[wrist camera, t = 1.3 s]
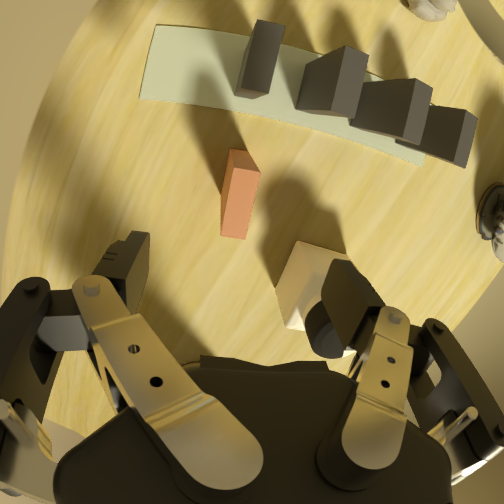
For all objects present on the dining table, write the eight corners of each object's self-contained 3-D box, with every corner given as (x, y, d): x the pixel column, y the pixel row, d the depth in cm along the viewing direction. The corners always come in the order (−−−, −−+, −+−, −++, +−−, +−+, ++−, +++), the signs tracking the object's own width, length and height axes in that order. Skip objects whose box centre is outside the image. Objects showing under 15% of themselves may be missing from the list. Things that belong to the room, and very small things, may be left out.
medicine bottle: (273, 289, 36) (293, 363, 25) (296, 238, 33) (329, 304, 22) (323, 300, 37) (355, 369, 27) (348, 254, 34) (393, 316, 24)
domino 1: (263, 53, 23) (285, 25, 14) (252, 99, 25) (268, 93, 16) (245, 49, 23) (257, 19, 14) (234, 96, 25) (240, 87, 16)
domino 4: (374, 88, 25) (432, 88, 16) (364, 130, 27) (419, 145, 18) (359, 82, 25) (416, 78, 16) (349, 125, 27) (402, 137, 18)
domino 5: (416, 108, 26) (477, 118, 17) (406, 147, 28) (465, 168, 19) (404, 102, 26) (465, 109, 17) (394, 142, 28) (453, 162, 19)
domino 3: (322, 69, 24) (369, 54, 15) (312, 114, 26) (354, 118, 17) (305, 63, 24) (345, 45, 15) (295, 109, 26) (330, 110, 17)
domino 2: (248, 151, 28) (260, 172, 19) (238, 198, 30) (245, 239, 21) (230, 148, 27) (233, 167, 19) (220, 195, 30) (220, 235, 21)
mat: (435, 107, 26) (437, 107, 26) (420, 166, 30) (422, 167, 29) (156, 26, 20) (156, 25, 20) (139, 99, 24) (139, 99, 24)
